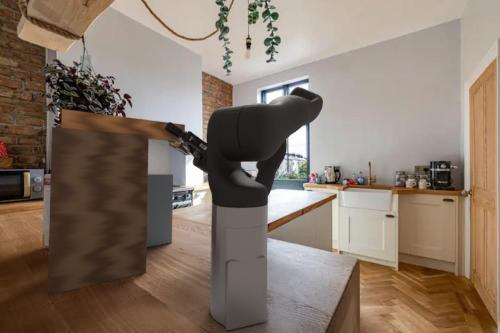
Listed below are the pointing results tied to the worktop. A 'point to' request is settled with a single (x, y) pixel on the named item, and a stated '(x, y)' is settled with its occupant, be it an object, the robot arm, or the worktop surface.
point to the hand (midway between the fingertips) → (162, 127)
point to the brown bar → (117, 124)
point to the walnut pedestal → (96, 207)
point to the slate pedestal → (159, 209)
